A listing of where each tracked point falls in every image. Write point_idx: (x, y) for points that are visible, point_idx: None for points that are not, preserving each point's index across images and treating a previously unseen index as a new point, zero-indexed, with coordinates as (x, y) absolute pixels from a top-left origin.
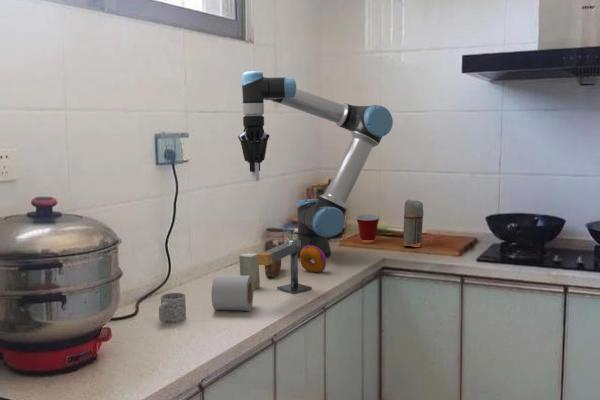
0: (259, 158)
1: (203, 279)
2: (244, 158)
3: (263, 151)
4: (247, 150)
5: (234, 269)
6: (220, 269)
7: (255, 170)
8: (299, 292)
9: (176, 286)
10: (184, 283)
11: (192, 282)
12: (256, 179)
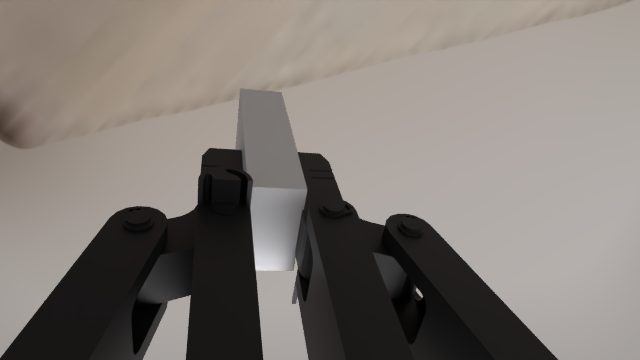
0: (224, 232)
1: (461, 16)
2: (420, 309)
3: (103, 320)
4: (526, 340)
5: (302, 36)
6: (330, 75)
7: (294, 144)
8: None
9: (562, 17)
10: (525, 25)
11: (506, 15)
12: (276, 97)
